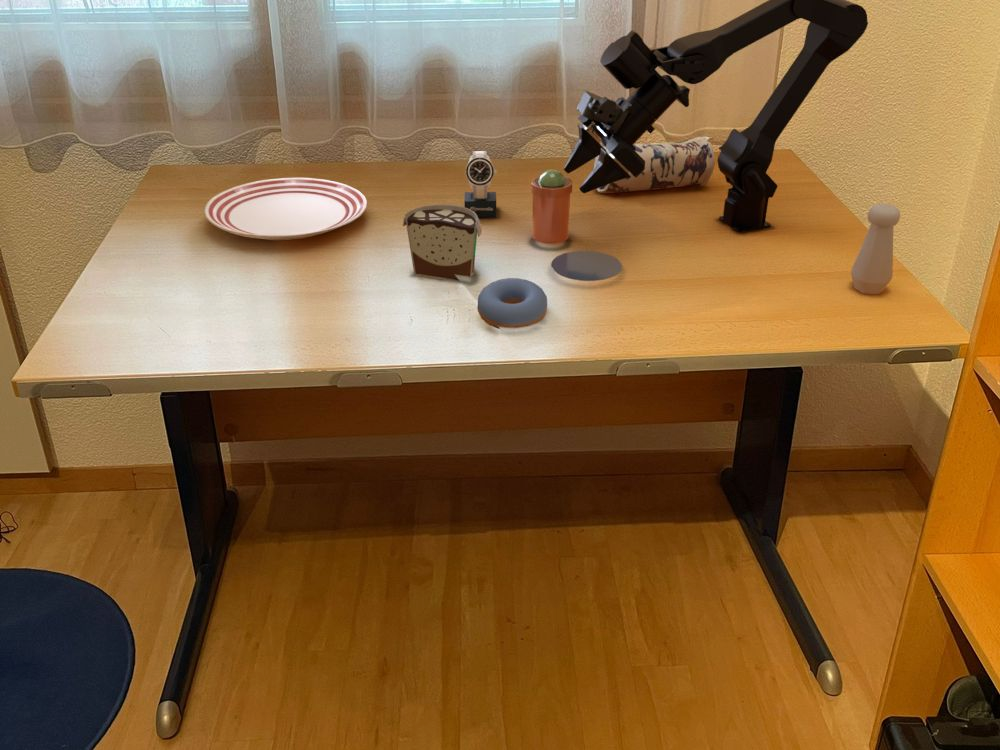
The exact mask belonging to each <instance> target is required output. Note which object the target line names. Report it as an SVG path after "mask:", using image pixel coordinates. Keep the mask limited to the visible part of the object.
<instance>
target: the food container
mask: <svg viewBox="0 0 1000 750" xmlns="http://www.w3.org/2000/svg"><path fill="white" fill-rule="evenodd" d="M405 226H406V232H407V237H408V244H409V250H410V257H411V262H412V263H411V264H412V268H413V275H414V276H416V277H423V278H430V279H436V280H444V281H450V282H457V283H461V281H460V279H459V278H458V276H463V277H469V278H472V277H473V276H474V273H475V261H476V249H477V239H478V238H479V237H481V235H482V225H481V221H480V218H478V216H477V215H476V213H475V212H473V211H472V210H470V209H468V208H465V206H462V205H455V204H445V203H444V204H441V203H440V204H439V203H438V204H428V205H423V206H419V207H416V208H413V209H410V210H409V211H407V212H406V213H405V214H404V217H403V221H402V227H405Z"/></svg>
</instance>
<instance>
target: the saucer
mask: <svg viewBox="0 0 1000 750" xmlns="http://www.w3.org/2000/svg"><path fill="white" fill-rule="evenodd" d="M550 267H551V269H552V270H553V272H554V273H556V274H557V275H559V276H561V277H564V278H565V279H570V280H574V281H583V282H595V281H596V282H597V281H603V280H604V281H605V280H608V279H611V278H613V277H615V276H617V275H618V274H619V273H621V271H622V270H623V264H622V262H621V261H620V259H618V258H616V256H613V255H611V254H609V253H606V252H603V251H598V250H597V251H596V250H573V251H568V252H564V253H561V254H559V255H556V256H555V258H553V259H552V261H551V264H550Z"/></svg>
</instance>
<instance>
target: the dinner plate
mask: <svg viewBox="0 0 1000 750" xmlns="http://www.w3.org/2000/svg"><path fill="white" fill-rule="evenodd" d="M367 207H368V201H367V197H366V196H365V195H364V194H363V193H362V192H361V191H359V190H358V189H356V188H355V187H353V186H350V185H348V184H345V183H342V182H338V181H335V180H334V181H333V180H330V179H322V178H316V177H315V178H314V177H280V178H270V179H261V180H256V181H252V182H247V183H243V184H240V185H236V186H233V187H231V188H229V189H226V190H223V191H221V192H219V193H218V194H216V195H214V196H212V198H211V199H210V200H208V201H207V203H206V204H205V207H204V216H205V217H206V220H208V221H209V223H211V224H212V225H213V226H214V227H216V228H218V229H220V230H223V232H224V231H225V232H227V233H230V234H233V235H236V236H240V237H245V238H249V239H250V238H251V239H257V240H268V241H292V240H293V241H294V240H300V239H301V240H303V239H308V238H312V237H315V236H319V235H322V234H326V233H329V232H331V231H335V230H337V229H339V228H341V227H343V226H345V225H348V224H350V223H352V222H354V221H356V220H357V219H358V218H360V217H361V216H362V215H363V214H364V213H365V212H366V209H367Z"/></svg>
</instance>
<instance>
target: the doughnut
mask: <svg viewBox="0 0 1000 750" xmlns="http://www.w3.org/2000/svg"><path fill="white" fill-rule="evenodd" d="M476 309H477V312H478V314H479V317H480V318H481V320H482V321H484V322H485V323H486V324H487V325H489V326H491V327H493V328H495V329H496V330H497V329H498V330H501V327H503V328H523V327H527V326H531V325H534V324H537V323H538V322H539V321H541V320H542V319H543V318H544V317H545V315H546V313H547V310H548V297H547V295H546V293H545V291H544V290H543V288H542V287H540V286H539V285H538V284H537V283H535V282H534V281H531V280H528V279H524V278H519V277H506V278H501V279H497V280H495V281H492V282H490V283H488V284H487V285H486V286H485V287H483V288H482V290H481V291H480V292H479V294H478V296H477V307H476Z"/></svg>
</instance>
